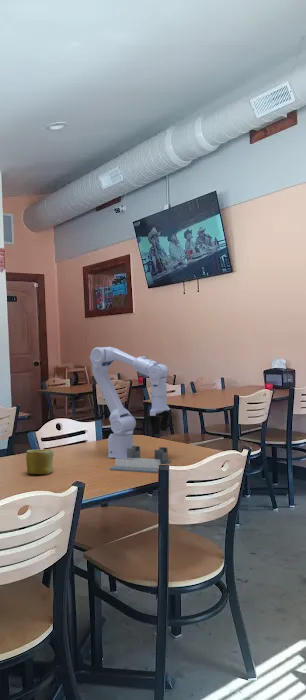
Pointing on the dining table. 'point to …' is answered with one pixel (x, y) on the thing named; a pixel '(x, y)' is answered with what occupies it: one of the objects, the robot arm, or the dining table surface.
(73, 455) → the dining table surface
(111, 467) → the mat
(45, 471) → the mug
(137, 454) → the rack
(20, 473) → the dining table surface
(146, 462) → the rail
